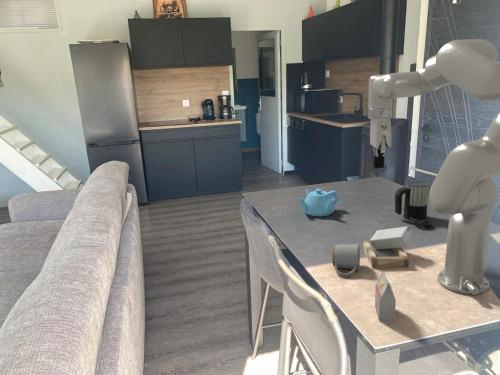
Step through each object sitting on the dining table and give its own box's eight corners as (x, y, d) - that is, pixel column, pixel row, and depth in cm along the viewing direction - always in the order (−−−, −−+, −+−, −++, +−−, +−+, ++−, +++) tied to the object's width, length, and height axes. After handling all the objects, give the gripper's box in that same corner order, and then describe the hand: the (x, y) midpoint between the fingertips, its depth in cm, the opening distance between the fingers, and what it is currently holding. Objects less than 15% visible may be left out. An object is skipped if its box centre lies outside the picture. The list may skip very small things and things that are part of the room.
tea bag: (389, 306, 99) (391, 271, 96) (394, 321, 93) (396, 284, 90) (374, 305, 100) (376, 270, 97) (378, 321, 93) (380, 284, 91)
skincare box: (374, 250, 131) (407, 248, 122) (368, 239, 130) (401, 237, 121) (382, 239, 135) (414, 236, 125) (376, 229, 134) (408, 225, 124)
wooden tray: (408, 267, 118) (409, 258, 117) (372, 267, 119) (372, 259, 118) (395, 248, 132) (396, 240, 131) (362, 248, 132) (363, 240, 132)
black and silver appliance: (413, 212, 164) (415, 178, 160) (447, 222, 151) (450, 186, 147) (390, 219, 158) (391, 184, 154) (423, 231, 144) (425, 193, 140)
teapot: (332, 220, 161) (332, 195, 158) (297, 217, 167) (297, 193, 164) (339, 208, 175) (339, 185, 172) (306, 206, 180) (306, 184, 178)
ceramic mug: (333, 260, 125) (333, 239, 123) (359, 262, 123) (360, 240, 121) (330, 277, 116) (330, 254, 113) (358, 279, 113) (359, 256, 111)
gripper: (398, 114, 119) (396, 172, 124) (385, 111, 133) (383, 162, 138) (374, 116, 120) (372, 173, 124) (363, 112, 134) (362, 163, 139)
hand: (378, 167), depth 131 cm, fingers closed
